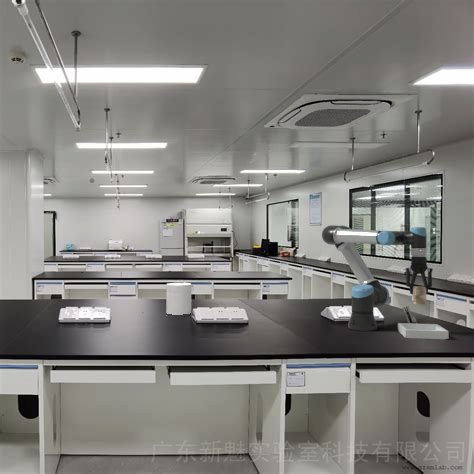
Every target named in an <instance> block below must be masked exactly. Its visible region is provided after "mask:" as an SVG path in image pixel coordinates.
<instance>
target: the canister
mask: <svg viewBox="0 0 474 474" xmlns="http://www.w3.org/2000/svg"><path fill="white" fill-rule="evenodd" d="M165 296H166V298H165V299H166V305H165V306H166V309H165V310H166V311H165V312H166V313H167V314H172V315H183V314H190V313H191V314H192V283H190V282H171V283H170V282H169V283H166V295H165Z"/></svg>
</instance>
